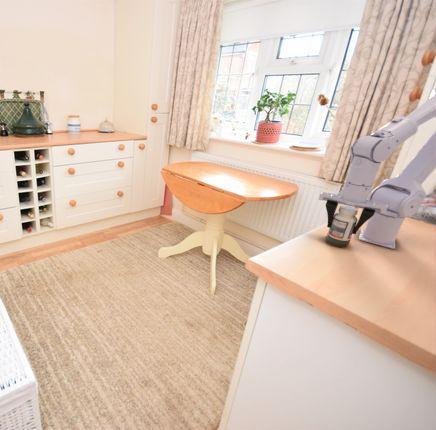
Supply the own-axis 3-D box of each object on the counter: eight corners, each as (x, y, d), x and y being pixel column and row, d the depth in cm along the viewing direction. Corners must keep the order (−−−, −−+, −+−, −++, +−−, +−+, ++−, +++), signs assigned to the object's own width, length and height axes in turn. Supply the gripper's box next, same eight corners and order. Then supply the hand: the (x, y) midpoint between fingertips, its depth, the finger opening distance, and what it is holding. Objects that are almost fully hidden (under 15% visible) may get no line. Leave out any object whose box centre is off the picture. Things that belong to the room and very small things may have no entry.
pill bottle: (342, 233, 85) (353, 205, 82) (354, 242, 80) (366, 212, 77) (323, 232, 85) (333, 204, 82) (334, 240, 81) (345, 211, 77)
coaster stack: (326, 236, 87) (328, 230, 87) (349, 243, 84) (351, 237, 83) (322, 243, 83) (325, 236, 83) (346, 250, 80) (349, 243, 79)
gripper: (323, 180, 78) (308, 225, 84) (394, 193, 69) (373, 243, 75) (327, 175, 83) (313, 219, 88) (395, 187, 74) (374, 234, 80)
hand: (341, 229), depth 82 cm, fingers closed on pill bottle, 5 cm apart
